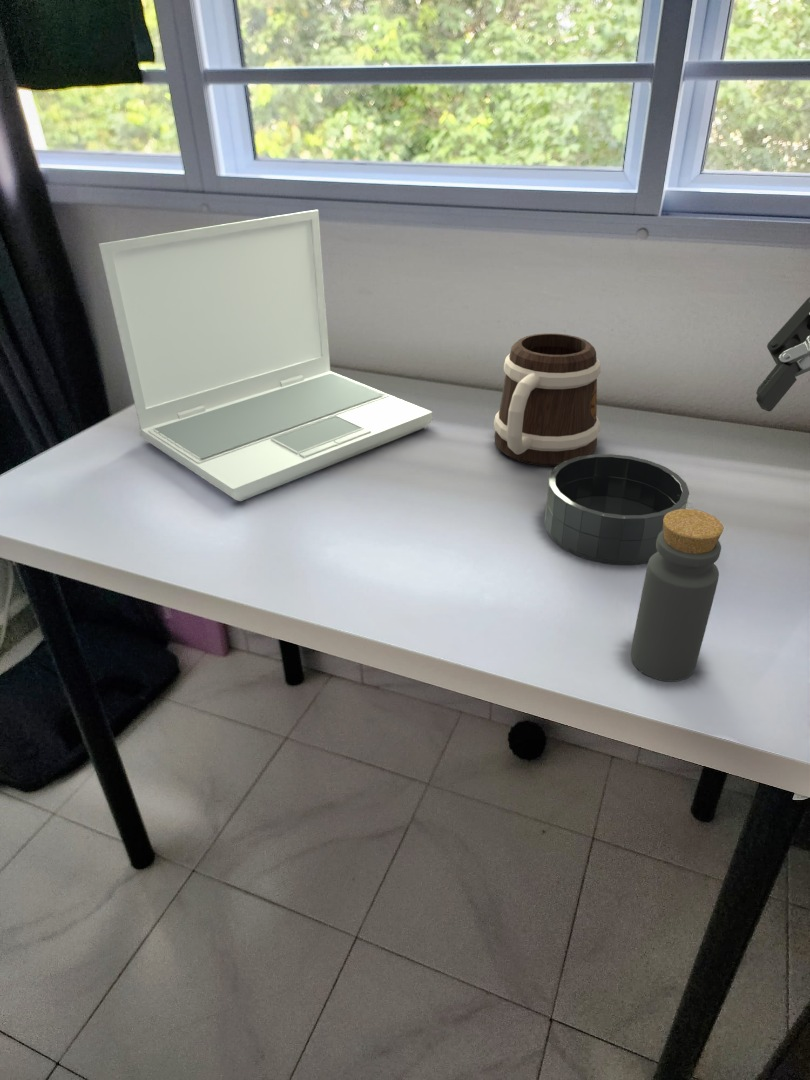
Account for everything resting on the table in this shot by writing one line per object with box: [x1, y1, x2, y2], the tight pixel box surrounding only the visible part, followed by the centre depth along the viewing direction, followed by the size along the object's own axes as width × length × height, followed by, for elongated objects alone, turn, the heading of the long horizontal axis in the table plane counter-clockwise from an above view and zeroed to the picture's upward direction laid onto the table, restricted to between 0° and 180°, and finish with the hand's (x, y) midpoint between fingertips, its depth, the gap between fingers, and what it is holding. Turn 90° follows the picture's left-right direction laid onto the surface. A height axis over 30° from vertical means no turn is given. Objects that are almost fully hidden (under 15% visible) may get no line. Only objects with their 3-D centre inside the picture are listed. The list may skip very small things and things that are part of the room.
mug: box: [493, 333, 602, 467], centre depth 103 cm, size 20×15×15 cm
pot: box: [544, 453, 690, 566], centre depth 88 cm, size 16×16×6 cm
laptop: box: [98, 209, 434, 502], centre depth 106 cm, size 35×26×28 cm
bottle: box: [630, 508, 724, 682], centre depth 66 cm, size 6×6×15 cm
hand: (804, 423), depth 63 cm, fingers open, 8 cm apart
